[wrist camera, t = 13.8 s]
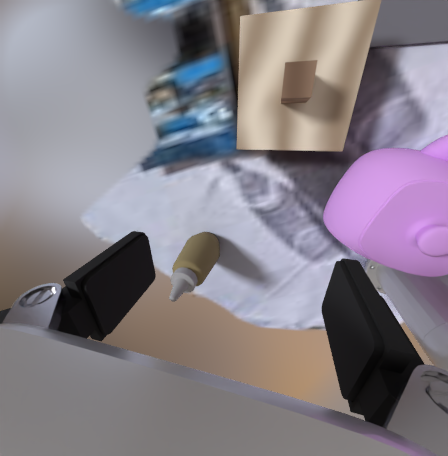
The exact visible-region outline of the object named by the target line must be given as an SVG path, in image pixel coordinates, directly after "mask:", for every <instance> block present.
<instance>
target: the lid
mask: <svg viewBox="0 0 448 456" xmlns="http://www.w3.org/2000/svg"><path fill="white" fill-rule="evenodd" d="M380 4H381V0H363V1H355V2H347V3H339V4H332V5H324V6H316V7H308V8H300V9H293V10H285V11H277V12H269V13H262V14H254V15H246V16H240V48H239V86H238V123H237V149H252V150H300V151H343V148H344V144H345V140H346V136H347V132H348V128H349V124H350V121H351V117H352V113H353V109H354V105H355V101H356V97H357V93H358V89H359V86H360V82H361V78H362V74H363V70H364V66H365V62H366V58H367V54H368V51H369V47H370V43H371V39H372V35H373V31H374V27H375V23H376V20H377V16H378V12H379V8H380Z"/></svg>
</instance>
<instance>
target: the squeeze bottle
mask: <svg viewBox="0 0 448 456" xmlns="http://www.w3.org/2000/svg"><path fill="white" fill-rule="evenodd" d="M219 256H220V249H219V241H218V239H217V237H216V236H215V235H213V234H211V233H209V232H202V233H199V234H197V235H194V236H192V237H191V238H190V239H188V241H187V242H186V244H185V246H184V247H183V249H182V251H181V253H180V254H179V256H178V258H177V260H176V261H175V263H174V265H173V268H172V269H173V274H172V276H171V283H172V285H173V288H172V291H171V294H170V297H169V299H170V300H171V301H176V300H177V299H178V298H179V297H180V296H181V295H182V294H183V293H188V292H191V291H193V290H194V288H195V286H199V285H200V284H202V283H203V281H204V280H205V278H206V277H207V275H208V274H209V272H210V271H211V269H212V268H213V266H214V265H215V263H216V262H217V260H218V258H219Z"/></svg>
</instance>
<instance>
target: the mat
mask: <svg viewBox="0 0 448 456" xmlns="http://www.w3.org/2000/svg"><path fill="white" fill-rule="evenodd" d="M358 1H363V0H358ZM439 42H448V0H381V4H380V8H379V12H378V16H377V20H376V23H375V27H374V31H373V35H372V39H371V43H370V47H369V48H376V47H389V46H401V45H414V44H427V43H439Z"/></svg>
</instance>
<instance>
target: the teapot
mask: <svg viewBox="0 0 448 456" xmlns="http://www.w3.org/2000/svg"><path fill="white" fill-rule="evenodd" d="M323 219H324V223H325V225H326V227H327V228H328V230H329V231H330V232H331V233H332V235H333V236H335V237H336V238H337V239H338V240H339V241H340V242H341V243H343V244H344V245H346V246H347V247H348V248H350V249H351V250H353V251H355V252H356V253H358V254H360V255H362V256H364V257H366V258H368V259H370V260H372V261H374V262H377V263H379V264H382V265H384V266H387V267H390V268H393V269H396V270H399V271H403V272H406V273H410V274H414V275H420V276H427V277H438V276H444V275H447V274H448V135H446V136H444V137H441V138H439V139H437V140H436V141H434V142H432V143H431V144H429V145H428V146H426V147H425V148H424V149H422V150H421V151H419V150H413V149H404V148H385V149H378V150H373V151H371V152H368V153H366V154H364V155H363V156H361V157H360V158H358V159H357V160H356V161H355V162H354V163H353V164H352V165H351V167H350V168H349V169H348V170H347V171H346V173H345V174H344V175H343V177H342V178H341V180H340V181H339V183H338V184H337V186H336V187H335V189H334V191H333V192H332V194H331V196H330V198H329V200H328V202H327V205H326V207H325V210H324V215H323Z"/></svg>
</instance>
